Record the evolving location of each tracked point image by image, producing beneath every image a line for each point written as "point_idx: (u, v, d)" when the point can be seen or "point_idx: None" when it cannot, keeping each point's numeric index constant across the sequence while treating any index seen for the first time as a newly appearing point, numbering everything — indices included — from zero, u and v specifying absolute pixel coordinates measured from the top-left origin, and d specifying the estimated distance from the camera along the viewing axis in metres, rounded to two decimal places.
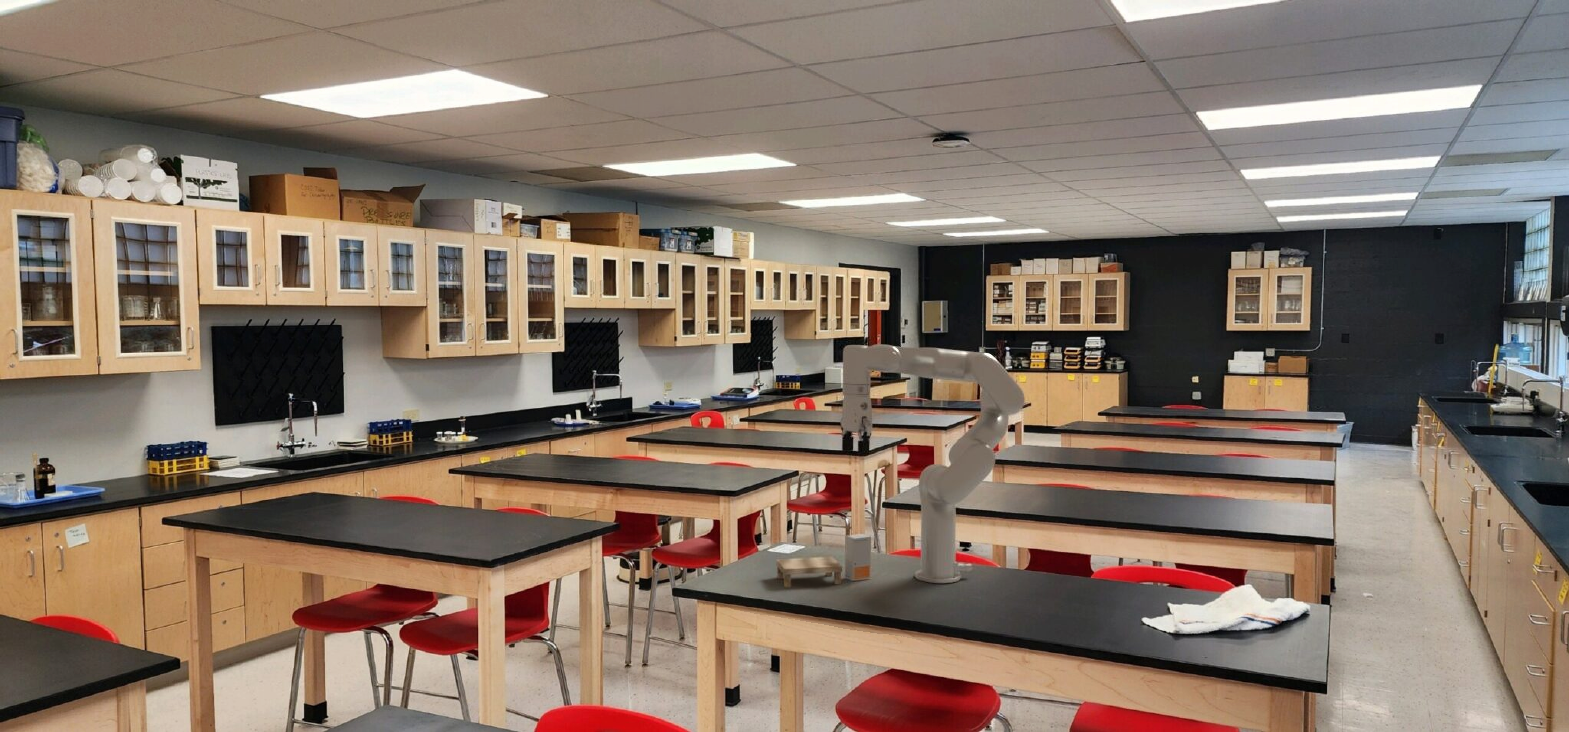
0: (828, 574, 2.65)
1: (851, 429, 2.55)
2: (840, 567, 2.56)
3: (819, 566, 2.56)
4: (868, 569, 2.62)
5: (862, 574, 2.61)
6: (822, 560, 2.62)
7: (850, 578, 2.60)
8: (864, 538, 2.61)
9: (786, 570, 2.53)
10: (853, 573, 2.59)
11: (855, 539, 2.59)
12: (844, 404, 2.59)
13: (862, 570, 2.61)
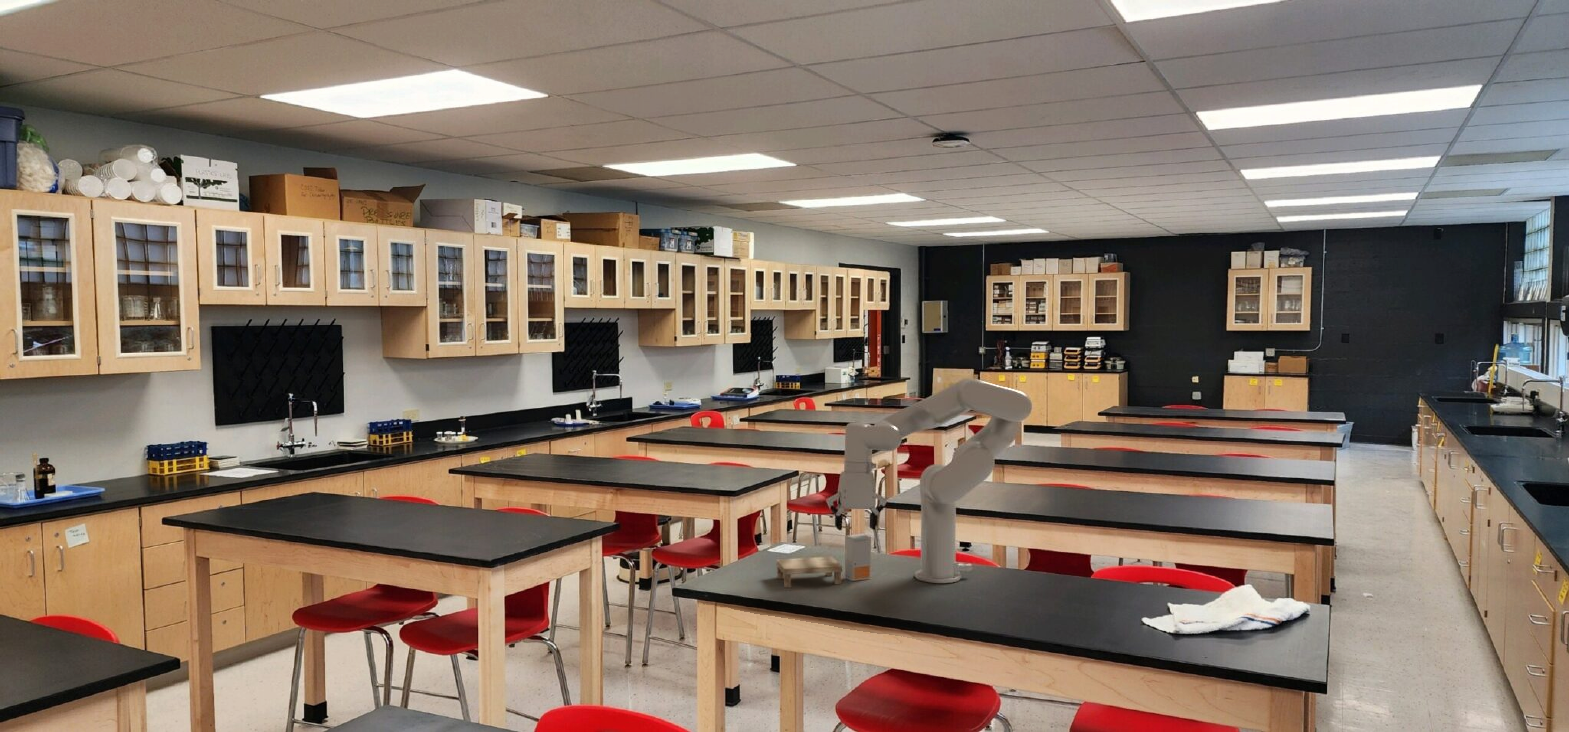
0: (828, 574, 2.65)
1: (864, 506, 2.60)
2: (840, 567, 2.56)
3: (819, 566, 2.56)
4: (868, 569, 2.62)
5: (862, 574, 2.61)
6: (822, 560, 2.62)
7: (850, 578, 2.60)
8: (864, 538, 2.61)
9: (786, 570, 2.53)
10: (853, 573, 2.59)
11: (855, 539, 2.59)
12: (849, 482, 2.59)
13: (862, 570, 2.61)
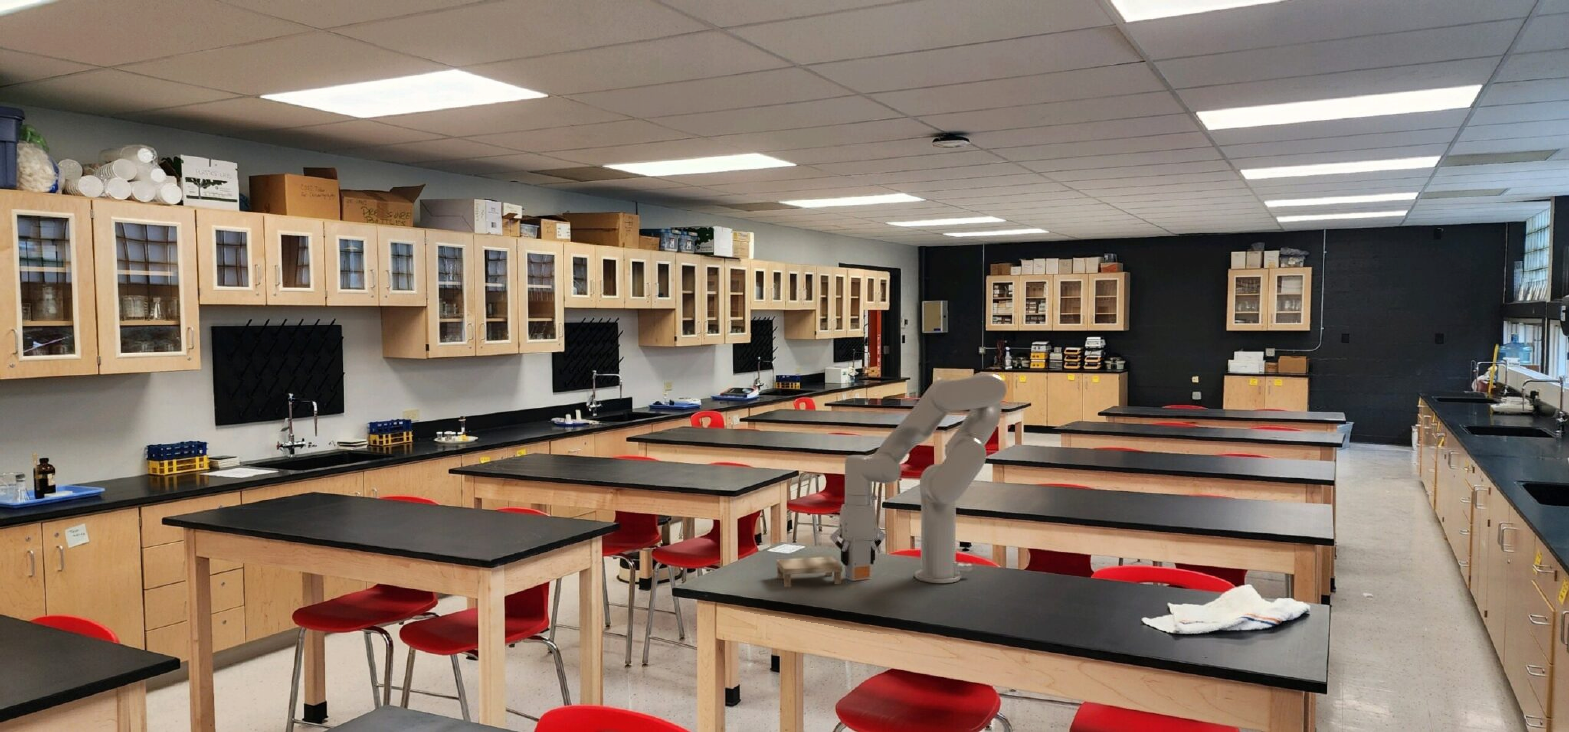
0: (828, 574, 2.65)
1: (865, 538, 2.60)
2: (840, 567, 2.56)
3: (819, 566, 2.56)
4: (868, 569, 2.62)
5: (862, 573, 2.61)
6: (822, 560, 2.62)
7: (850, 578, 2.60)
8: None
9: (786, 570, 2.53)
10: (853, 573, 2.59)
11: (855, 539, 2.59)
12: (850, 515, 2.59)
13: (862, 570, 2.61)
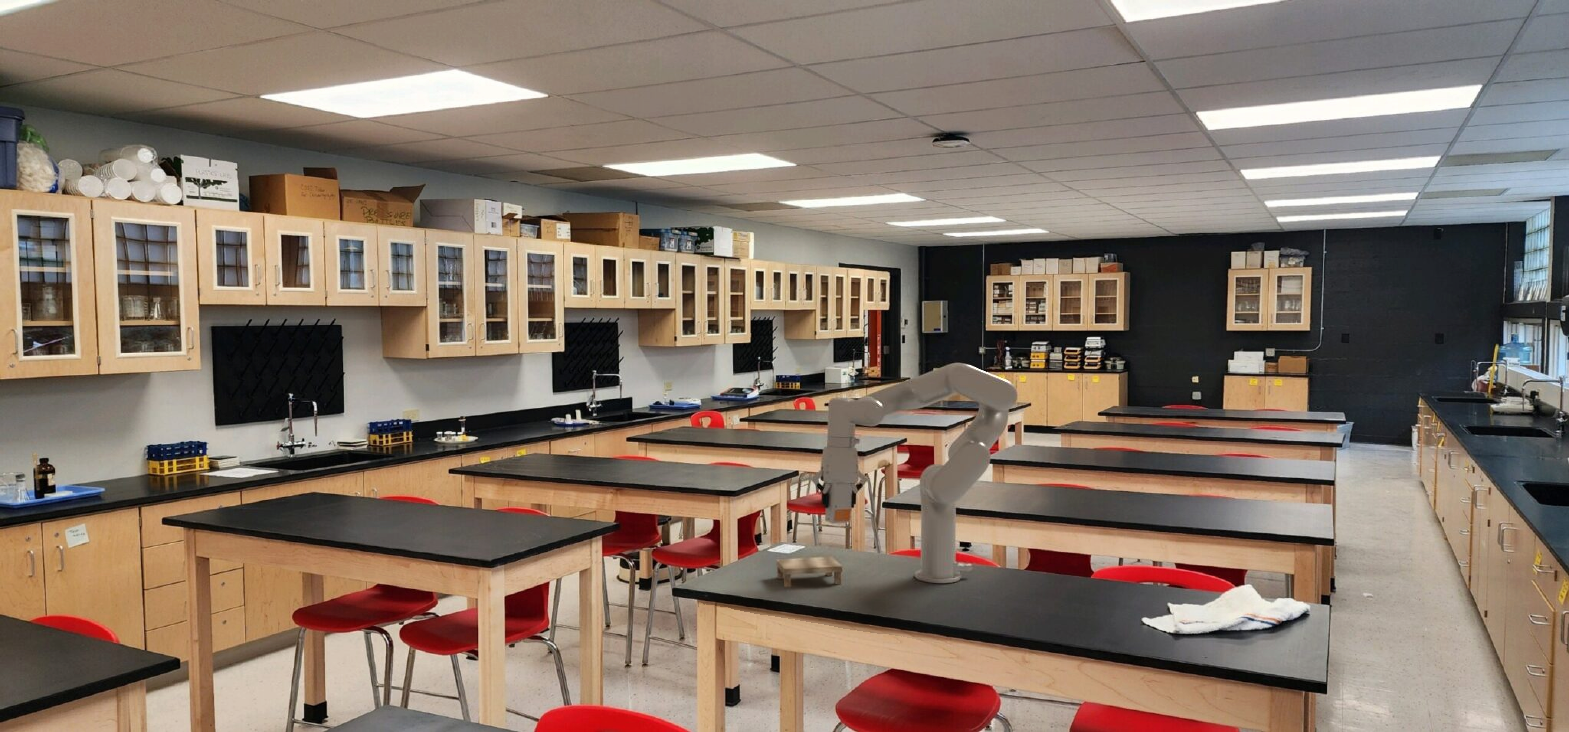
0: (828, 574, 2.65)
1: (847, 481, 2.59)
2: (840, 567, 2.56)
3: (819, 566, 2.56)
4: (849, 512, 2.60)
5: (843, 516, 2.59)
6: (822, 560, 2.62)
7: (830, 520, 2.59)
8: None
9: (786, 570, 2.53)
10: (834, 515, 2.58)
11: (836, 481, 2.58)
12: (832, 457, 2.57)
13: (842, 513, 2.59)
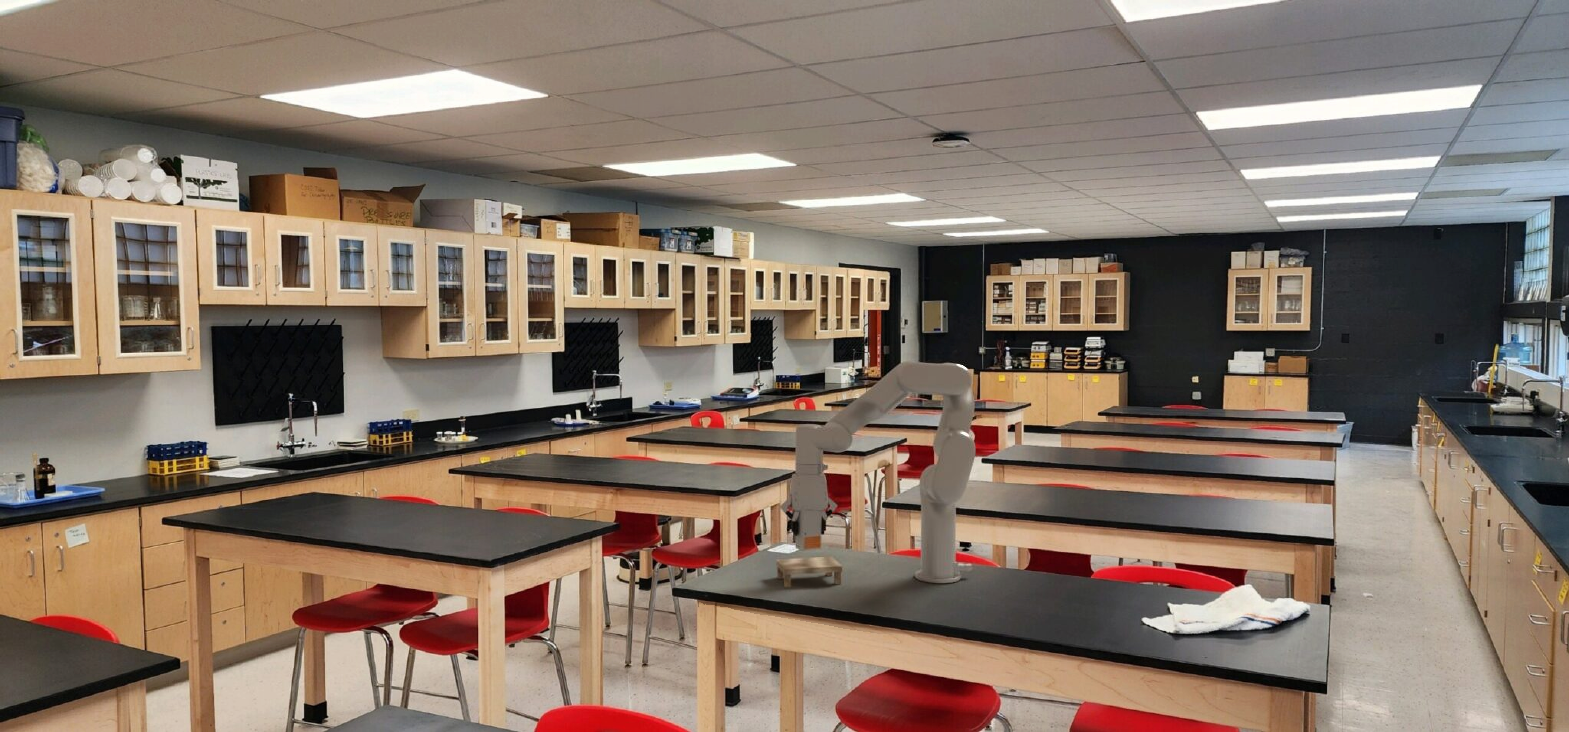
0: (828, 574, 2.65)
1: (816, 508, 2.58)
2: (840, 567, 2.56)
3: (819, 566, 2.56)
4: (819, 539, 2.59)
5: (813, 543, 2.58)
6: (822, 560, 2.62)
7: (800, 548, 2.57)
8: None
9: (786, 570, 2.53)
10: (803, 542, 2.57)
11: (805, 508, 2.56)
12: (800, 485, 2.56)
13: (812, 540, 2.58)
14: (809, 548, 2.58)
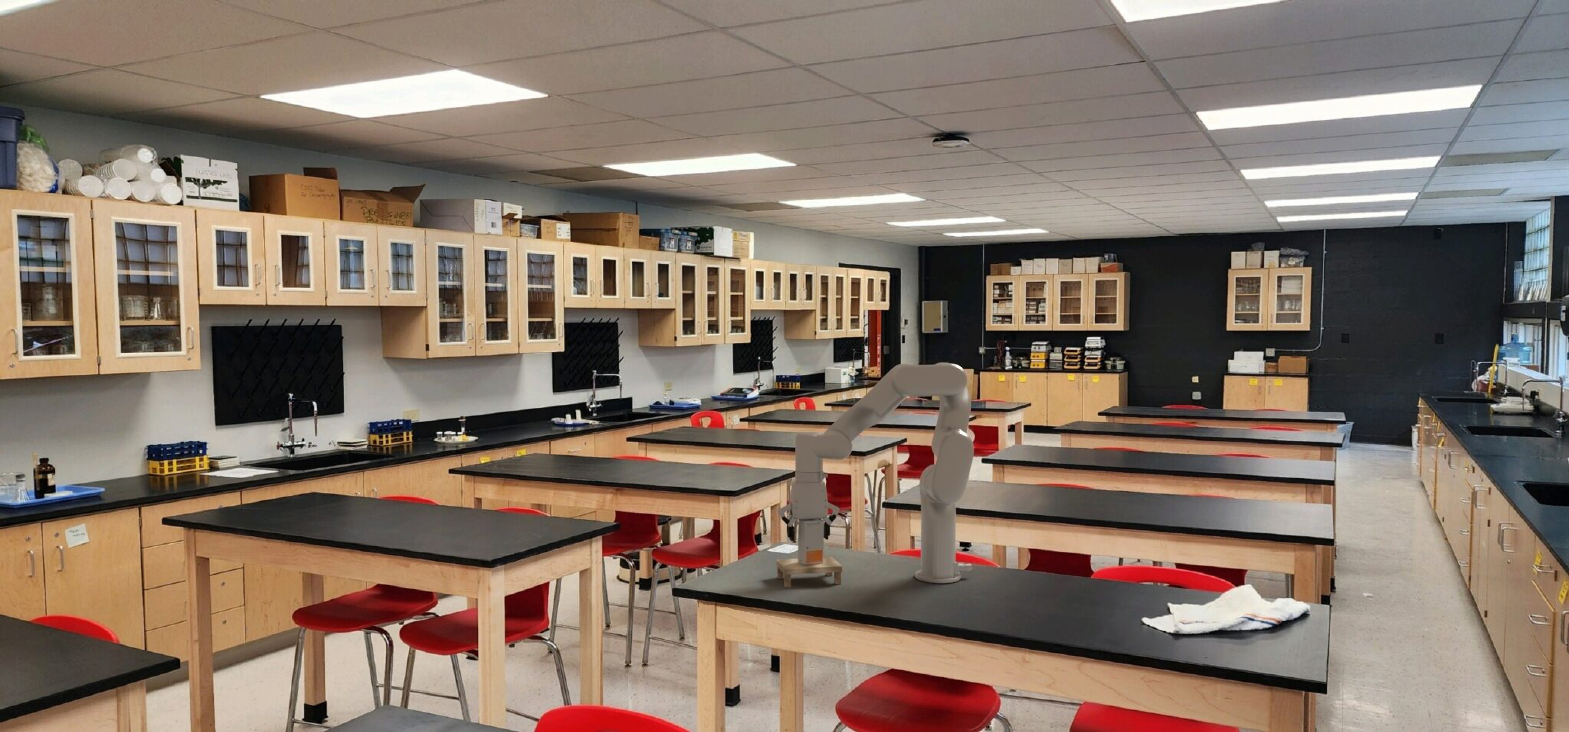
0: (828, 574, 2.65)
1: (816, 516, 2.58)
2: (840, 567, 2.56)
3: (819, 566, 2.56)
4: (821, 553, 2.59)
5: (815, 558, 2.58)
6: None
7: (802, 562, 2.58)
8: (817, 522, 2.58)
9: (786, 570, 2.53)
10: (805, 557, 2.57)
11: (807, 523, 2.57)
12: (800, 493, 2.56)
13: (815, 554, 2.58)
14: (811, 562, 2.58)
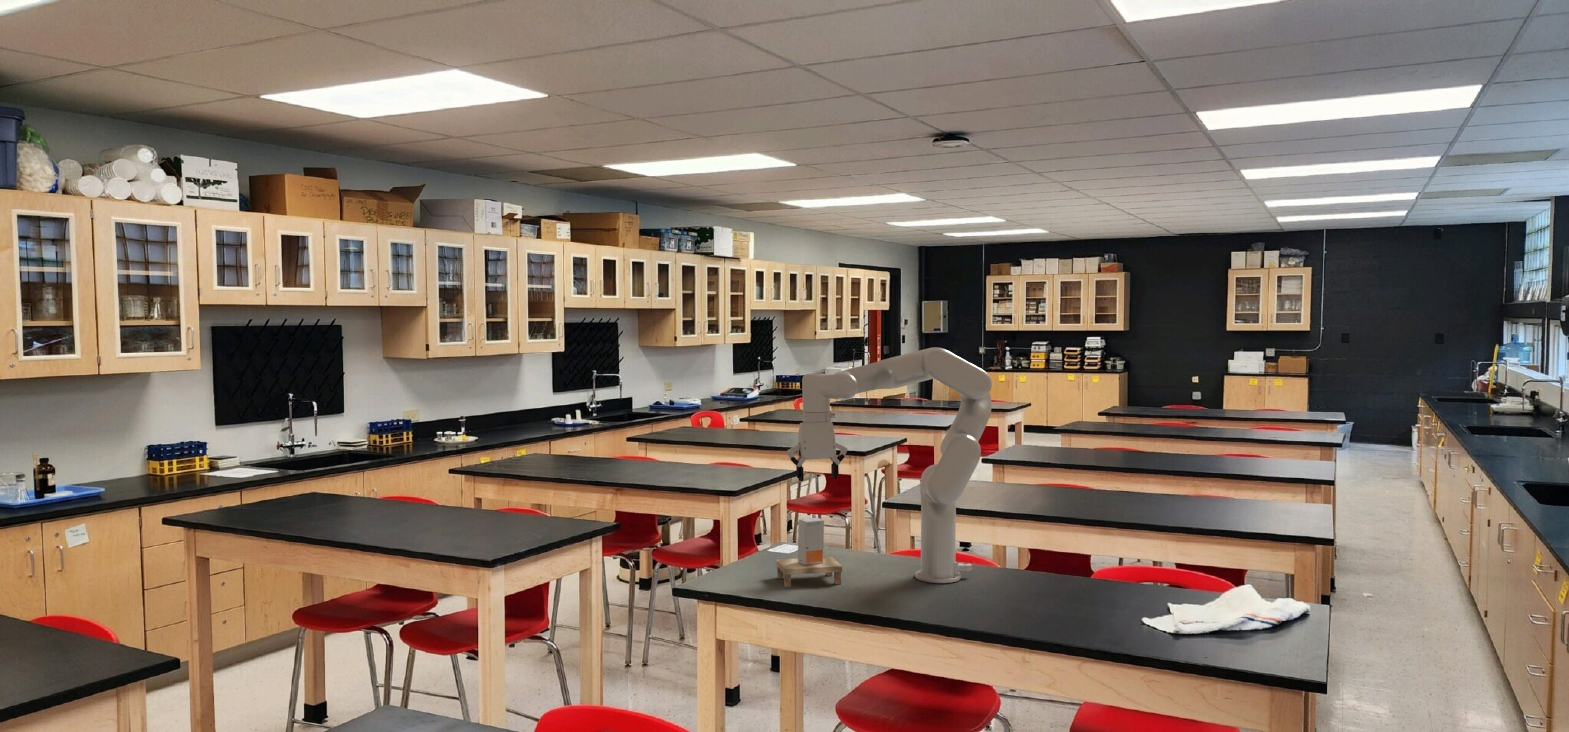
0: (828, 574, 2.65)
1: (824, 456, 2.60)
2: (840, 567, 2.56)
3: (819, 566, 2.56)
4: (821, 553, 2.59)
5: (815, 558, 2.58)
6: None
7: (802, 562, 2.58)
8: (817, 522, 2.58)
9: (786, 570, 2.53)
10: (805, 557, 2.57)
11: (807, 523, 2.57)
12: (809, 433, 2.59)
13: (815, 554, 2.58)
14: (811, 562, 2.58)
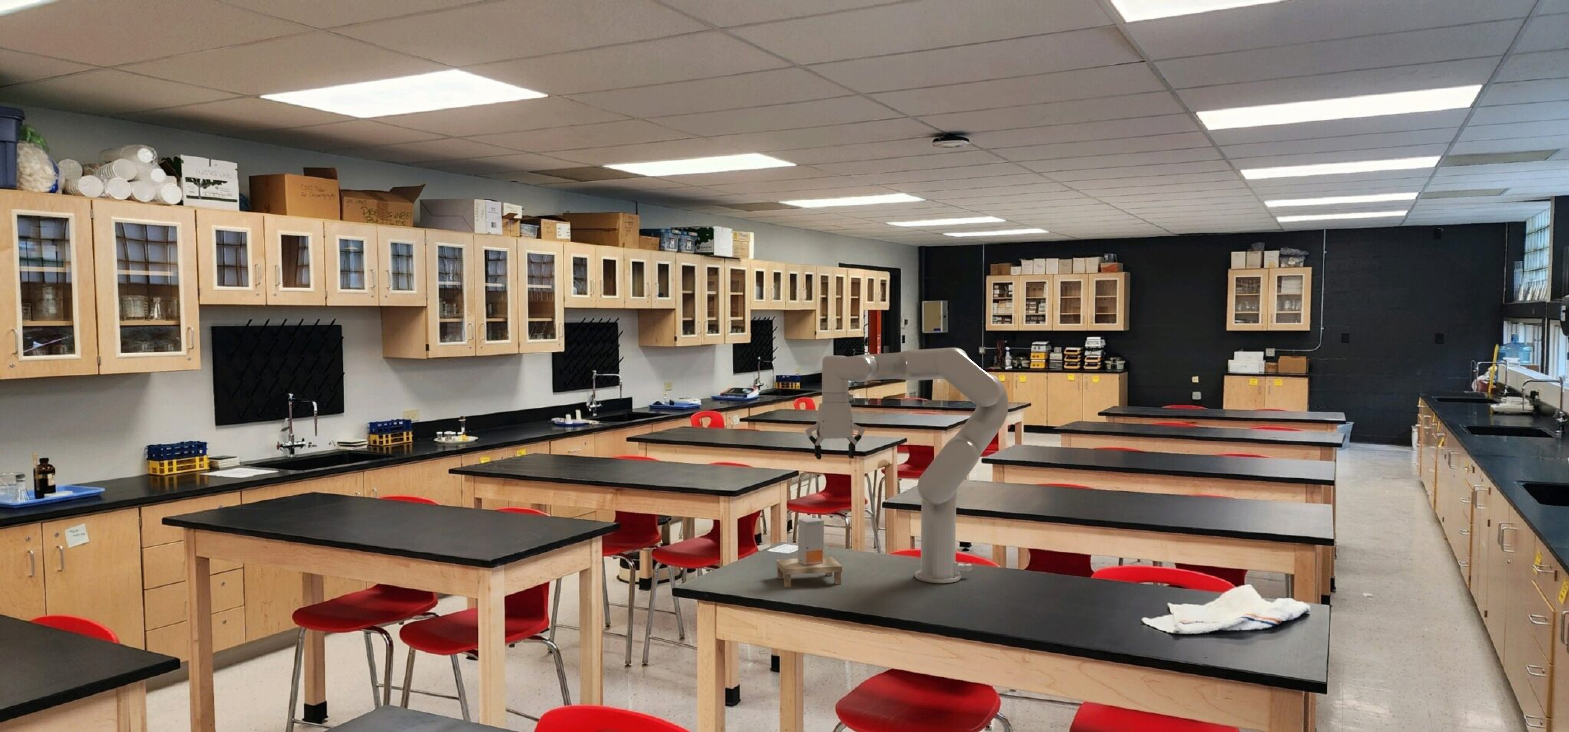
0: (828, 574, 2.65)
1: (842, 435, 2.68)
2: (840, 567, 2.56)
3: (819, 566, 2.56)
4: (821, 553, 2.59)
5: (815, 558, 2.58)
6: None
7: (802, 562, 2.58)
8: (817, 522, 2.58)
9: (786, 570, 2.53)
10: (805, 557, 2.57)
11: (807, 523, 2.57)
12: (827, 413, 2.67)
13: (815, 554, 2.58)
14: (811, 562, 2.58)
